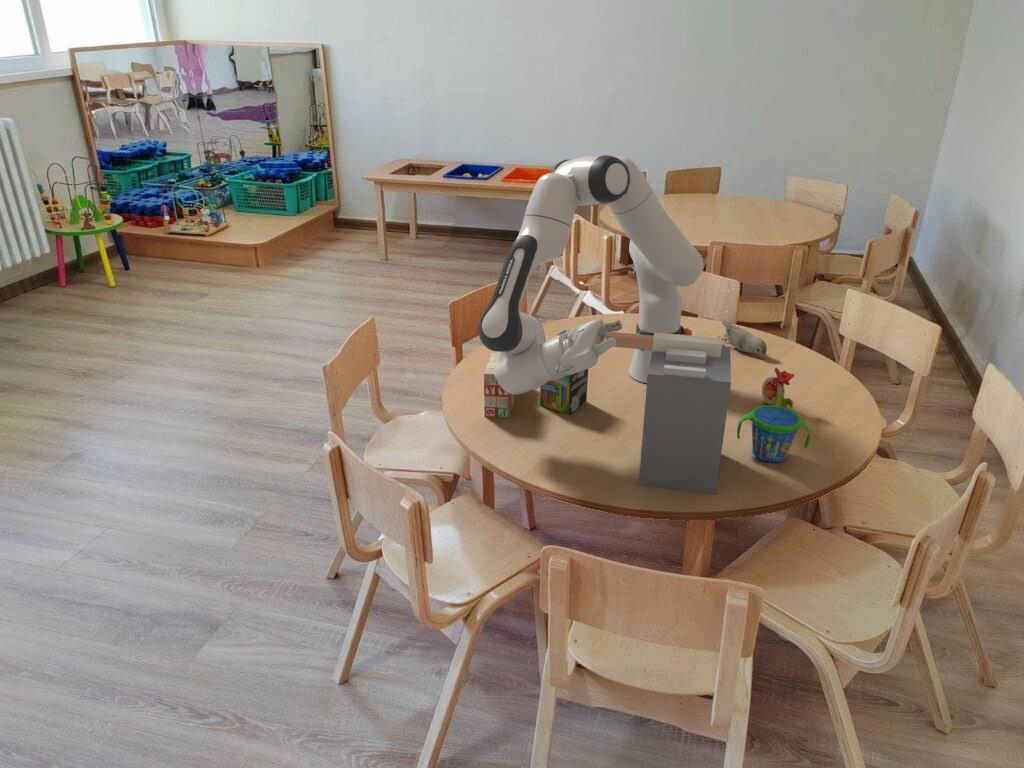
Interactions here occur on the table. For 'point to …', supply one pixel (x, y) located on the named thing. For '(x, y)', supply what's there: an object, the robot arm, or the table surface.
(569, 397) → the chalk box
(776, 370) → the bird rattle
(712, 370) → the cabinet
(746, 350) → the decorative bird
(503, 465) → the table surface
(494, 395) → the stack of blocks
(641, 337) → the lever bar
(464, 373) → the table surface
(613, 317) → the table surface
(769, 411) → the snack cup
